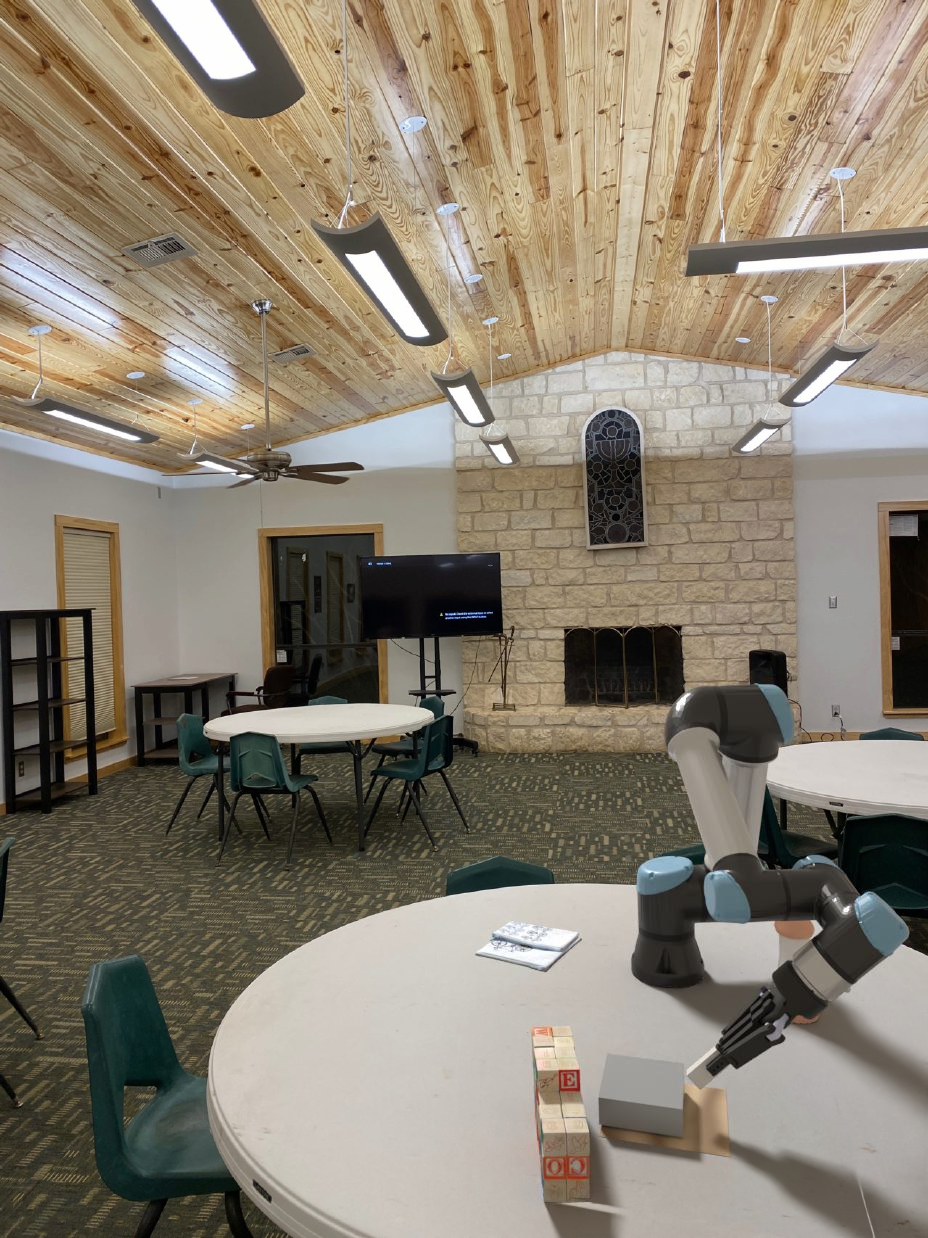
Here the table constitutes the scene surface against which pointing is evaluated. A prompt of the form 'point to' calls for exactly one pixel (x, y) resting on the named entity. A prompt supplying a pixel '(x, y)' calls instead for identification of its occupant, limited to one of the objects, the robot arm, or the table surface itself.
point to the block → (642, 1095)
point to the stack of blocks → (560, 1116)
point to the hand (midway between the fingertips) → (693, 1080)
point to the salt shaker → (793, 946)
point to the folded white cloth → (542, 939)
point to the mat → (689, 1125)
